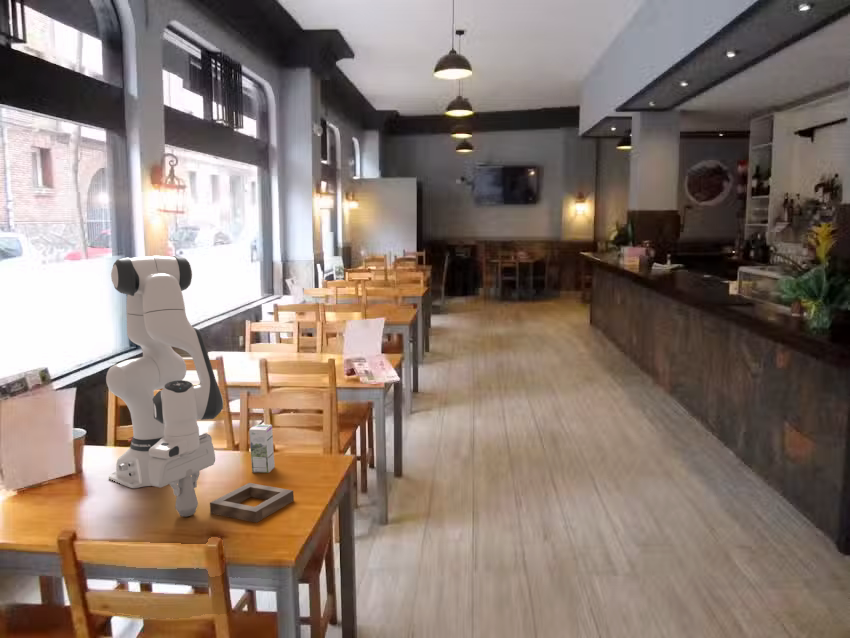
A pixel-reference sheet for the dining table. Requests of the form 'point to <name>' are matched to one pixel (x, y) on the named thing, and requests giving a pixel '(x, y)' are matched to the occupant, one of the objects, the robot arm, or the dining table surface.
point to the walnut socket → (232, 509)
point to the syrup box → (261, 448)
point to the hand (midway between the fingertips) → (185, 491)
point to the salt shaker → (186, 496)
